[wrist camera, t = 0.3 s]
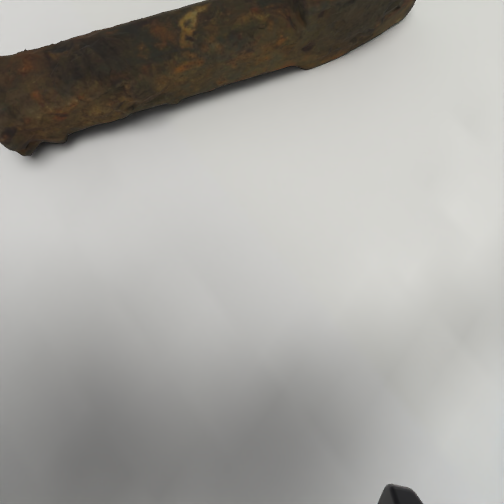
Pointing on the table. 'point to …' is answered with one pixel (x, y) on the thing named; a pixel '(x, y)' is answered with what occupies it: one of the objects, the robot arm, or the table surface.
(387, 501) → the robot arm
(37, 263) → the table surface
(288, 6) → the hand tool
